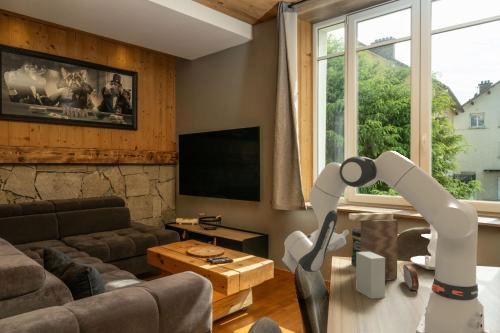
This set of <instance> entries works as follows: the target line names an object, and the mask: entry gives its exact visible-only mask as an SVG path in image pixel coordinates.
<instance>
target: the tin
mask: <svg viewBox="0 0 500 333" xmlns="http://www.w3.org/2000/svg"><path fill="white" fill-rule="evenodd" d="M402 268H403V280H404V282H405V284H406V286H407V287H408V288H409V290H410V291H419V287H420V286H419V285H420V284H419V283H420V281H419V276H418V272H417V270H416V268H415V267H414V266H413V265H412V264H411V263H408V264H407V263H404V264H403V267H402Z"/></svg>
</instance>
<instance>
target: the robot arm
mask: <svg viewBox="0 0 500 333" xmlns="http://www.w3.org/2000/svg"><path fill="white" fill-rule="evenodd" d="M380 181H381V182H383V183H385V184H387V186H389V187H390V188H391V189H392V190H393V191H395V193H397V194H398V195H399V196H400V197H401V198H403V199H404V200H405V201H406V202H407V203H408V204H410V205H411V206H412V207H413V208H414V209H415V210H416V212H418V214H419V215H420V216H421V217H422V218H423V219H424V220H425V221H426V222H427V223H428V224H429V226H430V225H431V226H432V227H433V228H434V229H435V230H436V231H437V235H438V236H437V245H436V252H435V270H434V277H433V281H432V284H431V291H430V292H429V298H428V301H427V306H425V312H423V313H422V314H421V316H420V319H419V322H418V325H417V327H416V330H415V332H416V333H491V331H490V330H488V329H486V328H485V312H484V305H483V304H482V303H481V302H480V301H479V299H478V296H479V288H478V285H479V284H478V283H477V254H478V233H479V232H478V230H479V226H478V225H479V215H478V211H477V209H476V208H475V207H474V206H473V205H472V204H471V203H469V202H468V201H465V200H462V199H457V198H456V197H455V196H454V195H453V194H451V193H450V192H449V191H448V190H447V189H446V188H445V187H444V186H443V185H442V184H441V183H439V181H437V179H435V178H434V177H433V176H431V175H430V174H429V173H427V172H426V171H425V170H424V169H422V168H421V166H419V165H417V164H416V163H415V162H413V161H412V160H411V159H409V158H408V157H406V156H404V155H402V154H401V153H399V152H397V151H394V150H387V151H384V152H383V153H381V154H380V155H379V156H378V157H377V158H376V159H374V158H371V157H370V158H369V157H366V156H350V157H349V158H346V159H345V160H343V162H342V163H340V162H336V161H335V162H333V161H332V162H329V163H327V164H326V165H325V167H324V168H322V170H321V171H320V173H319V175H318V176H317V178H316V179H315V181H314V183H313V185H312V187H311V189H310V192H309V196H308V199H309V204H310V206H311V208H312V210H313V212H314V214H315V216H316V219H317V224H318V229H315V231H313V232H311V233H310V234H307V235H306V234H305V233H304V232H302V231H301V230H293V231H291V232H289V233H288V234H287V235H286V236H285V238H284V241H283V245H284V256H283V257H282V259H281V261H282V264H283V265H284V266H285V267H286V268H287V270H288V271H289V272H290V273H291V274H295V273H294V272H295V269H296V267H297V265H298V264H300V265H301V266H302V268H303V269H304V270H305V271H304V272H306V271H307V273H314V272H317V271H319V270H320V269H321V267H323V265H324V262H325V258H326V254H327V252H335V251H338V250H339V249H341V248H343V247H344V246H346V244H347V240H346V237H347V236H348V235H349V234H350V231H349V229H344V230H342V233H337V232H336V231H338V230H339V228H338V226H337V222H338V218H339V217H338V205H339V201H340V199H341V197H342V195H343V193H344V191H345V189H346V188H347V187H348V186H349V187H352V188H368V187H372V186H375V185H376V184H378V183H379V182H380Z"/></svg>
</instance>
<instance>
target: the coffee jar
mask: <svg viewBox="0 0 500 333" xmlns="http://www.w3.org/2000/svg"><path fill="white" fill-rule="evenodd" d="M351 239H352V251H351V265H352V266H354V267H356V252H360V246H361V227H357V228H353V229H352V232H351Z"/></svg>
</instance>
